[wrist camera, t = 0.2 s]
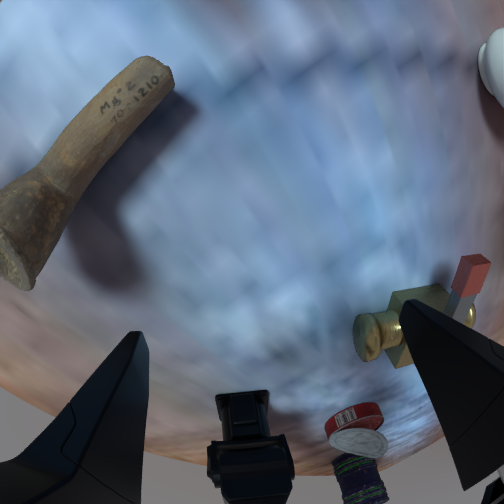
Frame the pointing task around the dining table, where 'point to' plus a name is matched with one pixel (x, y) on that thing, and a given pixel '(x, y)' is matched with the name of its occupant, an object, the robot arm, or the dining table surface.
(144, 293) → the dining table surface
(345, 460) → the storage jar
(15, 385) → the dining table surface
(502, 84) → the flower vase
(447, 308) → the lever
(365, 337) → the valve
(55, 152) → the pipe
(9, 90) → the dining table surface
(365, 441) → the canned food
